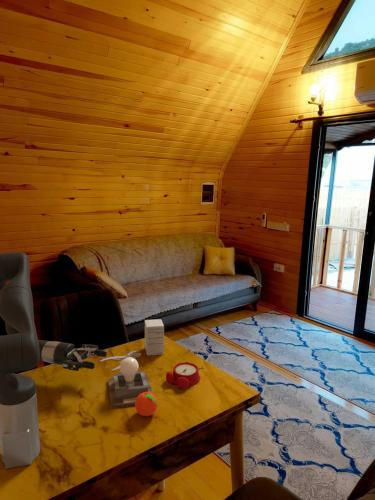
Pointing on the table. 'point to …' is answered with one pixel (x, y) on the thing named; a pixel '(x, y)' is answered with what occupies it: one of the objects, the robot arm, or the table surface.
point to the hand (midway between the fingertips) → (100, 359)
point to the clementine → (146, 404)
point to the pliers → (131, 354)
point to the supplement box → (154, 337)
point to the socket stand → (127, 389)
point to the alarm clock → (183, 375)
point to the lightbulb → (129, 370)
